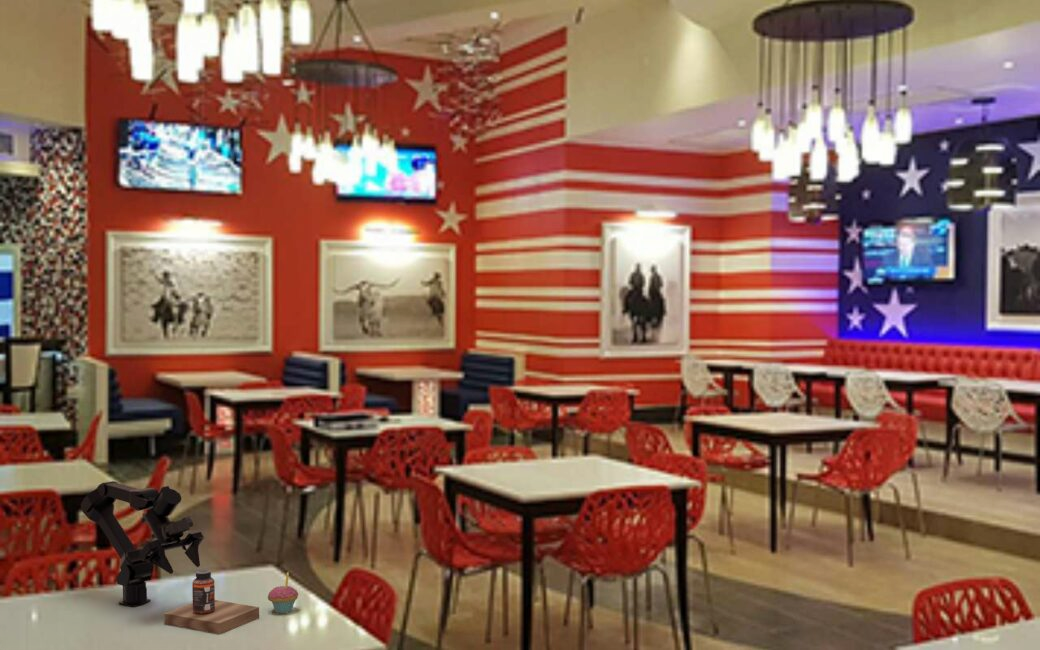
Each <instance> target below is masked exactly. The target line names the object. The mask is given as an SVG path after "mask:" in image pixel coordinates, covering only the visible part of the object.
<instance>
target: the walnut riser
mask: <svg viewBox="0 0 1040 650" xmlns="http://www.w3.org/2000/svg"><path fill="white" fill-rule="evenodd" d="M163 615H164V616H163V618H164V621H163V622H164V625H168V626H173V627H177V628H184V629H189V630H194V631H195V630H196V631H199V632H207V633H209V634H210V633H211V634H217V635H222V634H224V633H226V632H228V631H231V630H233V629H236V628H239V627H240V626H242V625H245V624H247V623H250V622H253V621H256V620H257V619H260V606H253V605H248V604H242V603H237V602H229V601H224V600H219V599H218V600H217V599H215V610H214V611H213V612H211V613H207V614H196V613H194V612H193V602H192V603H189V604H186V605H184V606H181V607H178V608H175V609H173V610H169V611H168V612H167V611H166V612H165V613H164V614H163Z"/></svg>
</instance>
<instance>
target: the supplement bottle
mask: <svg viewBox="0 0 1040 650" xmlns="http://www.w3.org/2000/svg"><path fill="white" fill-rule="evenodd" d="M195 577H196V578H194V579H193V581H192V583H191V584H192V603H193V612H194V613H196V614H207V613H211V612H213V611H214V610H215V600H216V596H215V589H216V586H215V579H214V578H213V577H212V572H211V570H210V569H201V570H197V571H196V572H195Z"/></svg>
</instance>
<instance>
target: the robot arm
mask: <svg viewBox="0 0 1040 650" xmlns="http://www.w3.org/2000/svg"><path fill="white" fill-rule="evenodd" d="M117 500H118V501H122V502H125V503H127V504H129V507H130V508H132V509H133V510H135V511H137V512H140V511H141V512H142V511H145V510H147V511H146V512H145V513H142V517H141V520H140V521H141V523H142V524H146V523H147V525H148V527H149V529H150V530H151V533H152V534H151V535H150V537H151V539H155V540H150V541H147V542H146V543H145V544H144V545H143V547H142V548H139V549H137V548H136V547H135V545H134V543H133V542H132V540H131V539H130V537H129V536H128V535H127V533H126V531H125V530H124V528H123V526H122V525H121V524H120V522H119V521H118V519H117V517H116V515H115V514H114V509H115V505H114V503H115V502H116V501H117ZM181 502H182V496H181V493H180V492H179V491H176V490H175V489H172V488H170V486H169V485H165V486H162V487H161V489H160V491H159V490H158V489H157V488H155V487H150V488H149V487H147V488H136V487H133V486H130V485H126V484H123V483H120V482H117V481H114V480H112V481H105V482H101V483H100V484H98V486H97V487H96V488H95V489H94V490H91V492H89V493H88V494H86V496H85V497H84V498H83V500H82V501H81V503H80V508H81V512H82V513H83V514H84V515H85V516H86V517H87V519H88V520H89V521H92V522H94V523H96V524H98V525H99V527H100V529H101V530H102V532H103V534H104V535H105V537H107V539H108V541H109V543H110V544H111V546H112V547H113V549H114V550H115V552H116V553H117V556H119V558H120V563H119V569H120V571H119V573H118V574H116V577H115V579H116V583H117V584H116V585H119V586H122V601H119V602H118V604H119V605H123V606H128V607H137V606H140V605H143V604H146V603H149V602H151V599H150V598H148V587H147V581H151V580H152V578H153V577H152V576H153V574H154V573H153V572H154V569H155V566H157V567H158V568H161V569H162V570H164V571H165V572H166V573H169V574H170V575H172V574H173V573H174V570H173V567H172V565H171V563H170V561H169V559H168V557H167V556H166V551H168V550H171V549H177V548H182V550H184V551H185V552H184V554H185V555H186V556H187V558H188V559H189V560H190V561H191V562H192V564H193V565H194V566H195V567H196V568H200V565H201V563H200V562H201V561H200V554H199V546H200V544H201V543H202V542H203V540H205V537H204V535H203V532H202V531H198V530H197V531H193V532H189V533H187V535H186V537H185V538H182V537H184V535H185V534H184V533H185V532H186V531H190V530H191V528H192V527H194V523H193V522H194V521H193V520H192V518H191V516H190V515H188V516H185V517H183V518H181V519H179V520H174V521H171V520H170V518H169V516H171V515H172V514H173V513H174V512H175V510H176V508H177V507H178V506H179V504H180V503H181ZM181 538H182V539H181Z"/></svg>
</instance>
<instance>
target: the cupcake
mask: <svg viewBox="0 0 1040 650" xmlns="http://www.w3.org/2000/svg"><path fill="white" fill-rule="evenodd" d="M289 577H290V573H289V570H288V571H287V573H286V577H285V584H284V585H280V586H276V587H273V589H271V590H270V591H269V593H268V595H267V601H269V602H271V603H272V606H273V608H274V612H275V613H277V614H288V613H291V612H292V611H293V607H294V604H295V602H296V600H297V599H298V597H299V592H298V590H296V588H294V587H293V586H291V585H289V584H288V583H289ZM287 612H288V613H287Z"/></svg>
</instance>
